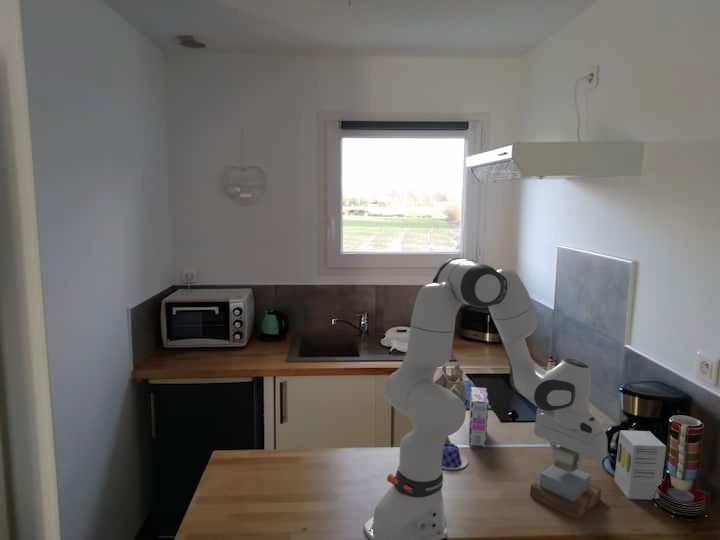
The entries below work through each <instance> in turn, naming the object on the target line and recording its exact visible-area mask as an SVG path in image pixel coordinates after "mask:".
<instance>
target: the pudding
mask: <svg viewBox="0 0 720 540" xmlns="http://www.w3.org/2000/svg"><path fill="white" fill-rule="evenodd" d="M468 463H469V462H468V459H467V457H466V456H465V455H464V454H462V453H461V452H460V449H459V446H457V445H456V444H454V443H452V442H451V443H450V442H446V443H444V447H443V455H442V469H444V470H460V469H464V468H465V467H466V466H467V465H468ZM446 467H447V468H446ZM449 467H450V468H449Z"/></svg>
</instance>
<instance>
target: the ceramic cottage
mask: <svg viewBox="0 0 720 540" xmlns="http://www.w3.org/2000/svg"><path fill="white" fill-rule="evenodd" d="M460 365H461V364H460V362H458V361H457V363H456V364H455V365H454V367H451V370H450V371H451V372H450V375H448V373H447V365H446V364H445V365H443V366H441V367H442V368H441V369H442V370H441V371H440V373H439V374H438V375H437V376H436V377H435V378H434V383H436V384H438V385H440V386H442V387H444V388H446V389H449V390H450V391H452V392H453V393H454V394H455V395H456V396H457V397H459V398H460V399H461V400H462V401H463V403H464V402H465V401H466V400H467V401H468V395H467V392H466V388H465V382H464V379H463V376H464V375H463V374H464V372H463V371H464V369H463V368H461V366H460ZM464 404H465V403H464Z"/></svg>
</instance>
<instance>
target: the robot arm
mask: <svg viewBox="0 0 720 540" xmlns="http://www.w3.org/2000/svg"><path fill="white" fill-rule="evenodd" d="M463 304H465V305H469V306H471V307H474V308H488V310H489V313H490V315H491V319H492V320H493V322H494V324H495V328H496V329H497V331H498V333H499V334H498V335H499V336H500V339H501V340H500V341H501V343H502V346H503V349H504V352H505V355H506V357H507V361H508V364H509V382H510V385H511V387H512V389H513V390H514V391H515V392H516V393H518V394H519V395H521V396H523V397H524V398H525V399H526V400H528V401H529V402H530V403H532V404H533V405H535V407H537V409H536V419H535V423H534V428H533V432H534V435H535V436H536V437H539V438H540V439H543V440H545V441H549V446H550V448H551V450H552V457H553V458H555V450H556V449H557V448H558V446H559V447H561V446H562V447H565V448H567V449H570V450H572V451H575V452H577V453H579V457H580V459H578V458H577V459H576V460H575V461H574V463H575V464H574V466H576V467H579V468H578V469H580V468H582V466H583V461H584V460H585V459H586V458H587V457H588V458H590V459H592V460H595V461H598V462H600V461H603V460H604V459H606V457H607V455H608V445H609V444H608V443H609V442H608V436H607V434H606V432H605V429H607V423H606V422H605V420H604V419H601V418H600V417H599V416H597V415H595V414H594V413H593V412H591V411H590V405H589V399H590V397H591V392H592V391H591V389H592V371H591V369H590V367H589V365H587V364H585V362H582V361H581V360H576V359H573V358H562V359H561V361H560V362H559V363H558V364H557V365H556V366H555V367H553V368H551V369H549V370H546V369H544V368H543V367H541V365H539V364H537V362H535V360H533V358H532V357H531V354H530V350H529V347H528V344H527V340H526V338H528V337H530V336H531V335H532V334H533V333H534V332H535V330H536V328H538V315H537V312H536V308H535V306H534V303H533V300H532V298H531V295H530V294H529V291H528V290H527V287H526V286H525V284H524V283H523V281H522V279H521V278H520V276H519V275H518V273H517V272H516V271H514V270H512V269H510V268H509V269H508V268H500V269H495V268H493V267H492V266H491V265H487V264H483V263H481V262H479V261H477V260H474V259H468V258H467V259H466V258H462V257H460V258H459V257H456V258H455V257H454V258H451V259H448V260H446V261H445V262H444V263H442V264H441V265H440V267H439V268H438V270H437V272H436V275H435V276H434V278H433V279H432V283H429V284H426V285H423V286H422V287H421V288H420V289H419V291H418V293H417V295H416V299H415V302H414V306H413V311H412V315H411V320H410V321H411V322H410V327H409V333H408V335H409V336H408V341H407V348H406V352H405V355H404V359H403V360H402V363H401V365H400V367H399V368H398V369H397V370H395V371H394V372H392V373H391V374H390V375H389V376H388V378H387V379H386V381H385V383H384V387H383V394H384V397H385V399H386V400H387V402H388V403H389V404H390V405H391V406H392V407H393V409H395V410H396V411H397V412H399V413H401V414H402V415H404V416H406V417H408V418H409V419H410V420H411V422H412V425H413V426H412V430H411V431H410V432H408V433H406V434H405V435H404V436H403V437H402V438H401V440H400V443H399V463H398V464H399V465H398V467H397V470H396V474H395V476H394V475H393V474H392V473H390V474H388V475H387V477H386V482H388V483H390V484H392V486H390V488H389V489H388V490H387V492H386V493H385V494H384V496H383V497H382V498H380V501H378V503H377V504H376V506H375V508H374V512H373V516H371V517H370V518H369V520H367V521H366V522H364V524H363V530H364V532H365V534H366V536H367V537H368V538H369V539H370V540H442V539H445V538H446V537H448V529H447V528H446V517H445V507H444V499H443V492H442V488H443V486H444V485H443V483H444V471H443V468H442V466H443V465H442V455H443V447H444V444H446V443H445V442H446V440H447V439H448V437H450V436H452V435H454V434H455V433H456V432H458V431H459V430H460V429H461V427H462V426H463V424H464V423H465V421H466V420H465V419H466V415H467V412H466V411H467V408H466V405H465V403H463V401H462V400H461V399H460V398H459V397H457V396H456V395H455V394H454V393H453V392H452V391H450V390H449V389H446V388H444V387H442V386H440V385H438V384H436V383H434V379H435V378H434V377H435V374H436V371H437V369H438V368H440V367H443V365H446V364H448V362H449V361H450V360H451V356H452V349H453V342H454V335H455V327H456V326H455V325H456V318H457V315H458V312H459V309H460V308H461V307H462V306H463Z"/></svg>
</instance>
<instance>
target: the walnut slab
mask: <svg viewBox="0 0 720 540" xmlns="http://www.w3.org/2000/svg"><path fill="white" fill-rule="evenodd" d="M529 496H530V497H531V498H534V499H536V500H537V501H539V502H542V503H544V504H546V505H547V506H550V507H552V509H553V508H554V509H556V510H558V511H559V512H561V513H564V514H565V515H567V516H570V517H571V518H573V519H575V520H578V519H579V518H580V517H582V516H583V515H585V513H586V512H587V511H589V510H590V509H591V508H593V507H594V506H595V505H596V504H598V502H600V501H601V498H602V497H601V496H602V488H600V487H599V486H596V485H594V484H592V483H590V487H589V489H587V490H586V491H585V492H584V493H583V494H582V495H581V496H580V497H579V498H578V499H576V500H575V501H574V502H573V501H571V500H569V499H567V498H565V497H562V496H560V495H558V494H556V493H554V492H551V491H549V490H547V489H545V488H543V487H541V486H540V478H539V479H538V480H536V481H535V482H533V483H531V484H530V491H529Z"/></svg>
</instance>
